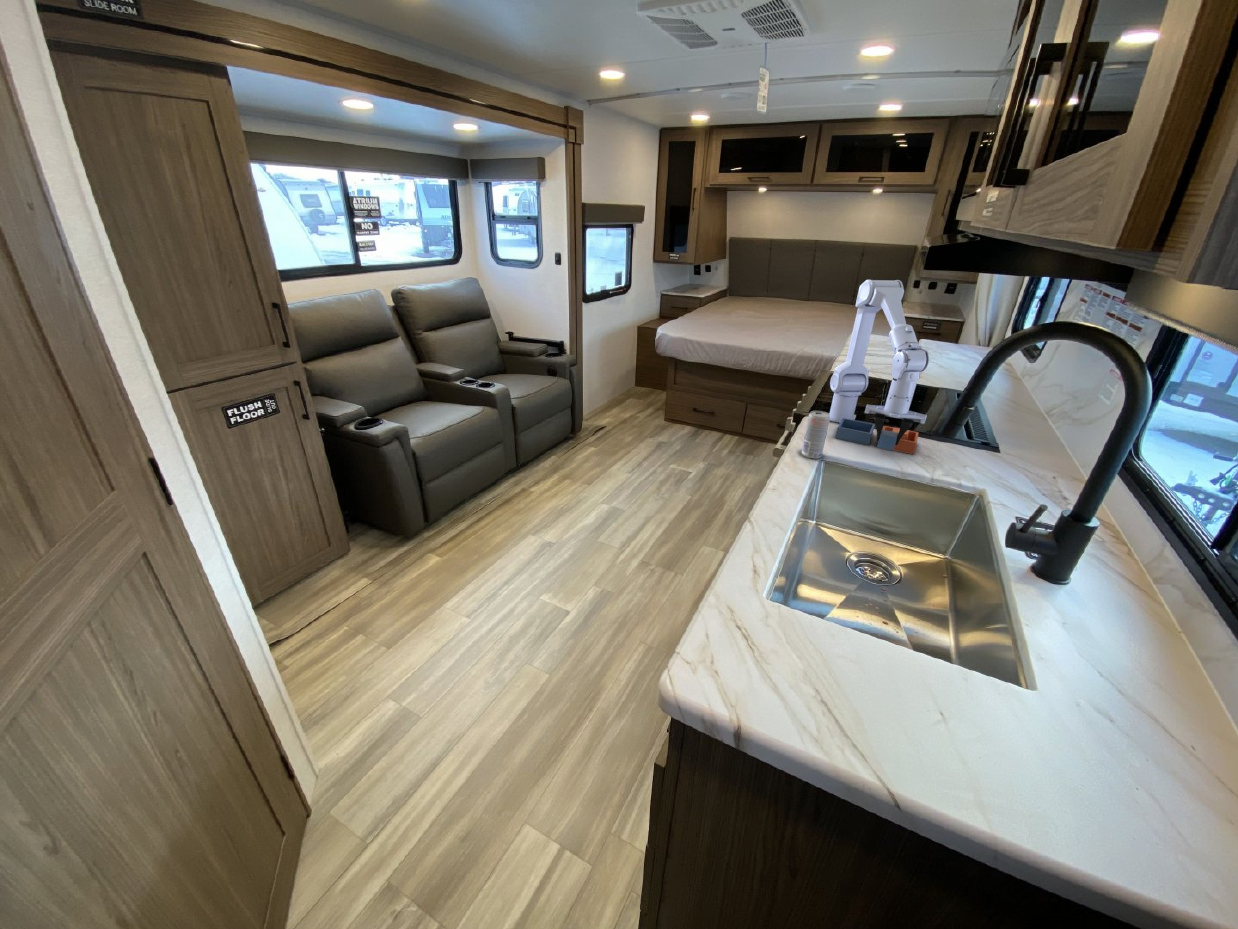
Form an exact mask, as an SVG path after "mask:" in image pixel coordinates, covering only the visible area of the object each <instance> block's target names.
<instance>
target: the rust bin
mask: <svg viewBox="0 0 1238 929" xmlns="http://www.w3.org/2000/svg"><path fill="white" fill-rule="evenodd" d="M893 428H894V427H893V426H892V427H891V426H888V425H883V427H882V430H887V431H893ZM918 437H919V432H918V431H914V430H909V433H908V437H907V440H903V439H900V441H899V443H898V445H895V446H894V449H893V451H896V452H901V453H905V454H909V455H910V454H911V455H914V453H915V450H916V448H917V444H918Z"/></svg>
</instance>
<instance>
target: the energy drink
mask: <svg viewBox="0 0 1238 929" xmlns="http://www.w3.org/2000/svg"><path fill="white" fill-rule="evenodd" d="M830 422H831V421H830V414H829V412H826V411H823V410H812V411H810V412H809V414H808V417H807V422H806V427H805V432H804V437H803V443H802V448H801V452H800V453H801V454H802V456H804V458H808V459H812V460H813V459H820V458H821V457H822V456H823V452H824V448H825V445H826V444H825V443H826V439H827V435H828V429H829V426H830Z"/></svg>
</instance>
